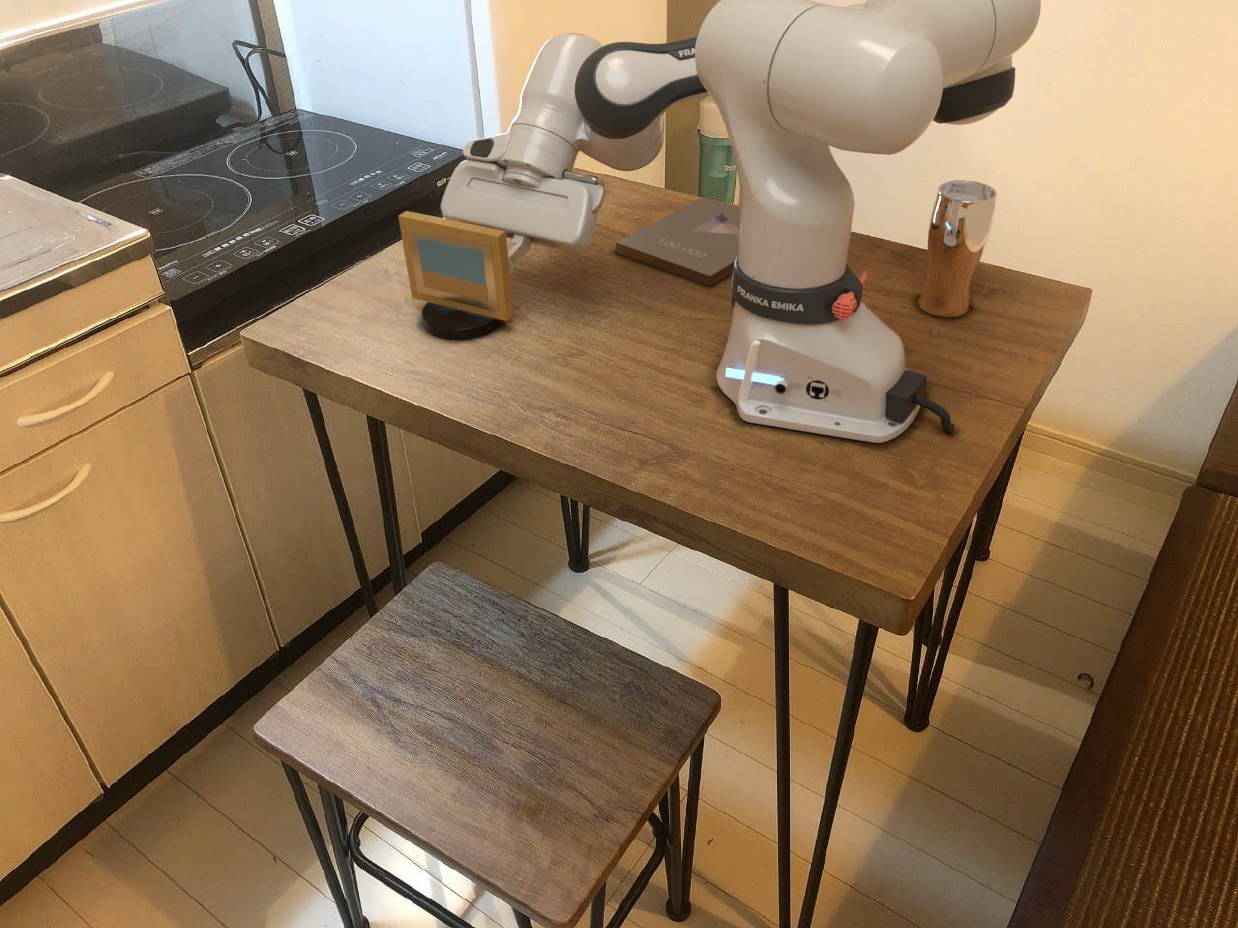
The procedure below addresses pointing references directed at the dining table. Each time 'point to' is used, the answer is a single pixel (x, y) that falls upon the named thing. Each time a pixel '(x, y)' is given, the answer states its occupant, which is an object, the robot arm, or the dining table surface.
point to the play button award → (689, 241)
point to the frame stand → (456, 323)
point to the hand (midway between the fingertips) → (498, 270)
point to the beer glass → (956, 245)
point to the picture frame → (457, 265)
